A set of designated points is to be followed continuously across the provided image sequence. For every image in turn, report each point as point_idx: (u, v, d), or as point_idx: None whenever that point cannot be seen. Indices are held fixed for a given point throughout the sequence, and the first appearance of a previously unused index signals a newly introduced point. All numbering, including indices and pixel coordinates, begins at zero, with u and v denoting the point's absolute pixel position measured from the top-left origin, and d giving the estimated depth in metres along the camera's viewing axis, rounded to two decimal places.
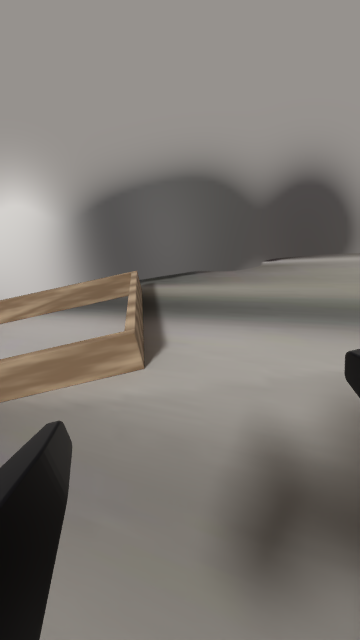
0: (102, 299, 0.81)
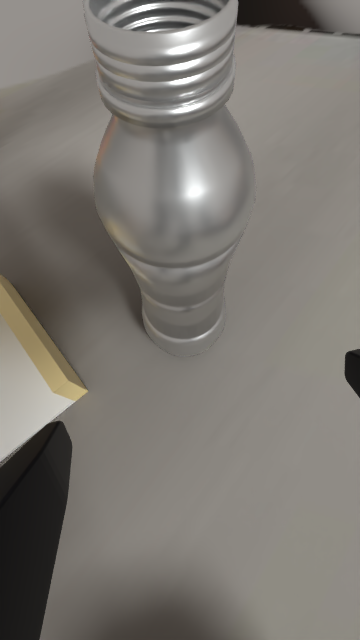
0: None
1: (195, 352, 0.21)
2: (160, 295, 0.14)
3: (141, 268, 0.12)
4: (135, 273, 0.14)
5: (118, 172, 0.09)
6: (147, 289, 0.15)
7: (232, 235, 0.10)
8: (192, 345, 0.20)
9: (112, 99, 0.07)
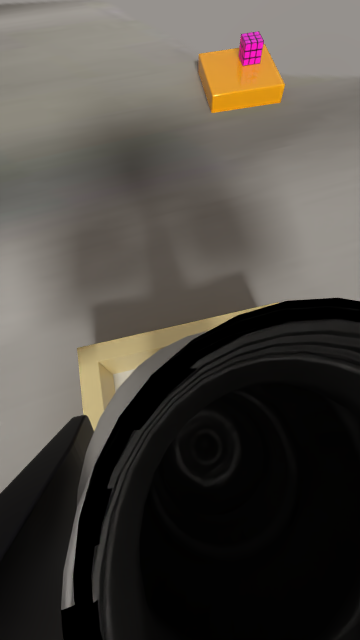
0: None
1: (227, 513, 0.16)
2: None
3: None
4: None
5: None
6: None
7: None
8: None
9: None
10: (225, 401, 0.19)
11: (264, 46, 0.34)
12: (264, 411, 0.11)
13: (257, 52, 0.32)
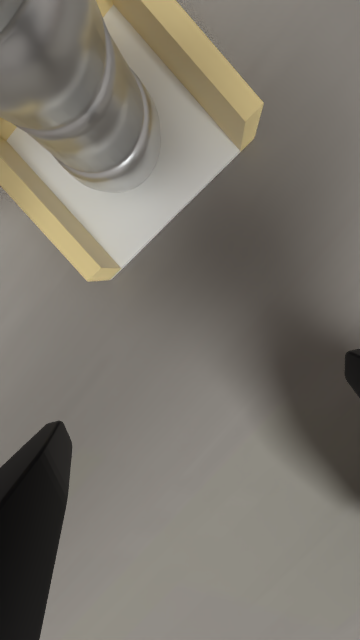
0: None
1: (145, 171, 0.17)
2: (38, 115, 0.10)
3: None
4: None
5: None
6: (18, 118, 0.10)
7: None
8: (135, 164, 0.16)
9: None
10: None
11: None
12: None
13: None
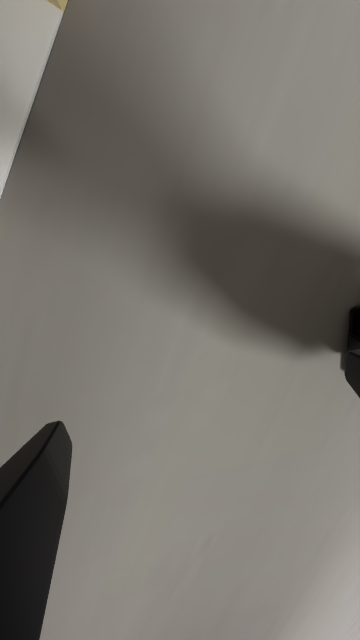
0: None
1: None
2: None
3: None
4: None
5: None
6: None
7: None
8: None
9: None
10: None
11: None
12: None
13: None
